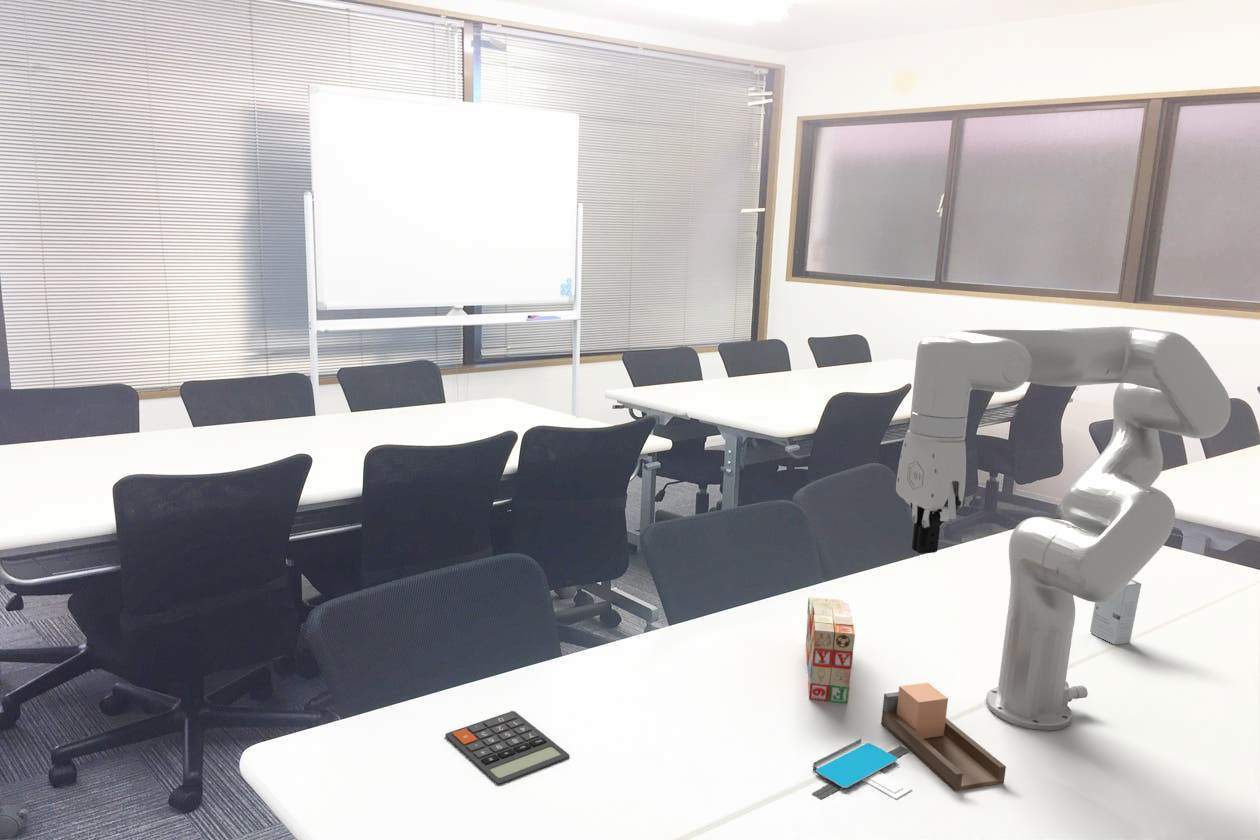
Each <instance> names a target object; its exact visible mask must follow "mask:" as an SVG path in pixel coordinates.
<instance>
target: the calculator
mask: <svg viewBox="0 0 1260 840" xmlns="http://www.w3.org/2000/svg"><path fill="white" fill-rule="evenodd" d="M444 735H445V738H446V739H447V740H448V741H449V742H450V743H451V744H453V746H454V747H456V748H457V749H458V750H459V752H461V753H462V754H463V755H464V756H465V755H466V758H468V760H469V761H470V762H472V763H473V764H474V765H475V766H476V767H477V768H478V769H479V770H481V772H483V774H485V776H487V778H489V779H490V780H491V781H492V780H493V781H492V782H493V783H494V784H496V785H497V786H501V785H504V784H506V783H509V782H512V781H514V780H517V779H519V778H521V777H524V776H527V775H531V774H532V773H535V772H537V771H540V770H542V769H545V768H547V767H551V766H553V765H555V764H558V763H561V762H563V761H566V760H569V759H570V754H569V753H568V752H567V751H566V750H564V749H563V748H562V747H560V745H558V744H557V743H556V742H555V741H553V740H551V738H549V737H548V736H546V734H544V733H543V732H542V731H540V730H539V729H538V728H537V727H536V726H535V725H533V724H532V723H530V722H529V721H528V720H526V719H525V718H523V716H521V715H520V714H519V713H517V712H516V711H514V710H512V711H508V712H505V713H502V714H498V715H496V716H493V717H491V718H487V719H484V720H482V721H479V722H475V723H473V724H469V725H466V726H463V727H460V728H457V729H455V730H453V731H452V730H451V731H449V732H447V733H445V734H444Z"/></svg>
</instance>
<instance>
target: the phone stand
mask: <svg viewBox="0 0 1260 840" xmlns="http://www.w3.org/2000/svg"><path fill="white" fill-rule="evenodd" d="M908 752H910V750H909V749H908V748H905V747H903V746H901V745H900V746H898V747H897V748H896V747H895V748H894V749H892V750H890V751H886V750H884V749H882V748H881V747H878V746H876V745H874V744H873V743H869V742H866V743H865V744H864V743H862V738H859V739H858V740H856V741H854V742H852V743H850V744H848V745H845V746H844V747H842V748H839V749H838V750H836V751H834V752H832V753H830V754H828V755H827V756H824V757H822V758H820V759H818V760H817V761H814V762H813V764H811V767H812V770H815V772H816V773H817V774H818V775H819V776H821V777H822V778H823V779H822V781H823V782H826V783H827V784H826V785H824V786H822V787H821V788H819V789H818V790H816V791H814V792H811V794H812V795H814V796H815V797H817V798H819V799H820V800H822V799H823V798H826V797H827V796H829V795H833V794H834V793H836V792H838V791H840V790H842V789H847V788H850V787H851V786H853V785H855V784H856V783H858V782H860V781H863V782H864V783H866V784H867V785H869V786H871V787H874V788H875V789H876V790H878V791H880V792H882V793H884V794H885V795H887V796H889V797H891V798H892V799H894V800H898V799H900V798H901V797H903V796H905V795H906V794H908V793H910V792H912V790H913V789H912V788H911V787H909V786H906V785H905V784H903V783H901V782H899V781H898V780H895V779H894V778H892V777H890V776H889V775H888V774H885V773H883V772H882V771H880V770H881V769H884V768H886V767H888V766H889V765H891V764H893V763H895V762H897V761H898V759H899V758H900V757H902V755H904V754H906V753H908Z"/></svg>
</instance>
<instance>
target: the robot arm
mask: <svg viewBox="0 0 1260 840" xmlns="http://www.w3.org/2000/svg"><path fill="white" fill-rule="evenodd" d="M1025 383H1030V384H1035V385H1040V386H1041V385H1042V386H1050V387H1063V388H1066V387H1078V386H1079V387H1081V386H1091V385H1092V386H1093V385H1107V384H1109V385H1110V384H1118V386H1116V389H1115V392H1114V394H1113V400H1112V401H1113V404H1112V406H1113V407H1112V408H1113V409H1112V410H1113V425H1112V434H1111V438H1110V440H1109V442H1108V444H1107V445H1106V446H1105V448H1104V450H1103V451H1102V452H1101V453H1100V454H1099V455H1098V456H1097V458H1096V459H1095V460H1093V461H1092V462H1091V464H1090V465H1089V466H1088V467H1087V468H1086V469H1085V470H1084V471H1083V472H1082V473H1081V474H1080V475H1079V476H1078V477H1077V478H1076V479H1075V480H1074V481H1073V483H1071V484H1070V486H1069V487H1068V488H1067V490H1066V491H1065V492H1064V494H1063V496H1062V498H1061V501H1060V511H1061V513H1062V515H1063V516H1064V518H1065V519H1066V520H1067V521H1068V522H1070V523H1071V524H1070V523H1067V522H1064V521H1061V520H1059V519H1055V518H1052V517H1047V516H1033V517H1029V518H1026V519H1024V520H1022V521H1021V522H1020V523H1018V524H1017V525H1016V527H1015V528H1013V531H1012V533H1011V536H1010V538H1009V542H1008V562H1009V572H1010V573H1009V574H1010V588H1009V589H1010V590H1009V600H1008V606H1007V607H1008V608H1007V617H1006V621H1005V623H1006V624H1005V630H1004V640H1003V647H1002V654H1001V655H1002V656H1001V663H1000V671H999V677H998V679H999V680H998V686H996V687H993V688H992V689H989V690H988V692H987V693H986V697H985V698H986V700H985V703H986V706H987V708H988V709H989V710H990V711H991V712H992V713H993V714H994V715H995V716H997V717H998V718H1000V719H1002V720H1004V721H1007V723H1011V724H1013V725H1015V726H1019V727H1023V728H1026V729H1031V730H1037V731H1057V730H1063V729H1064V728H1066V727H1069V725H1070V724H1072V723H1071V722H1072V720H1073V712H1072V710H1071V708H1070V706H1069V705H1068V704H1069V702H1071V701H1072V700H1077V699H1078V700H1079V699H1085V698H1087V697H1088V695H1089V693H1088V690H1087V687H1086V686H1084V685H1075V686H1071V687H1069V686H1070V685H1069V683H1068V682H1067V674H1068V666H1069V661H1070V653H1071V645H1072V639H1073V631H1074V626H1075V622H1076V621H1075V619H1076V604H1075V599H1074V598H1075V597H1077V598H1079V599H1082V600H1085V601H1087V602H1091V603H1095V602H1103V601H1107V600H1109V599H1111V598H1112V597H1114V596H1115V595H1117V594H1118V593H1119V592H1120V591H1121V590H1122V589H1123V588H1124V587H1125V586H1126V585H1127V584H1128V583H1129V582H1130V581H1131V580H1134V578H1135V577H1136V575H1137V574H1138V573H1139V572H1140V571H1142V569H1143V568H1144V567H1145V566H1146V565H1147V564H1148V563H1149V562H1150V561H1151V559H1152V558H1153V557H1154V556H1155V555H1156V554H1157V553H1158V552H1159V551H1160V550H1161V548H1163V546H1164V545H1165V544H1166V542H1167V540H1168V539H1169V537H1170V535H1171V533H1172V531H1173V529H1174V525H1175V519H1176V509H1175V505H1174V503H1173V501H1172V499H1171V498H1170V497H1169V496H1168V495H1167V494H1166V493H1165V492H1163V491H1162V490H1160V489H1158V488H1156V487H1154V486H1152V485H1153V484H1154V483H1155V481H1157V480H1158V478H1159V477H1160V475H1161V474H1162V470H1163V466H1164V456H1163V451H1162V447H1161V442H1160V434H1159V433H1160V432H1164V433H1165V432H1166V433H1169V434H1173V435H1178V436H1183V437H1187V438H1191V439H1199V440H1200V439H1208V438H1212V437H1214V436H1216V435H1219V433H1220V432H1222V431H1223V430H1224V428H1226V426H1227V424H1228V422H1229V420H1230V417H1231V412H1232V411H1231V410H1232V407H1231V406H1232V405H1231V400H1230V399H1231V398H1230V396H1229V393H1228V392H1227V390H1226V387H1225V386H1224V384H1223V383H1222V382H1221V380H1220V378H1218V376H1217V374H1216V373H1215V372H1214V370H1213V369H1212V367H1211V365H1210V364H1209V363H1208V361H1207V360H1206V358H1205V357H1204V356H1203V354H1201V352H1200V351H1199V350H1198V348H1196V346H1195V345H1194V344H1193V343H1192V342H1191V341H1190V340H1189V339H1187V337H1185V336H1183V335H1182V334H1179V333H1177V332H1173V331H1167V330H1159V329H1158V330H1157V329H1150V328H1143V327H1136V326H1135V327H1134V326H1123V325H1122V326H1101V327H1100V326H1099V327H1084V328H1083V327H1082V328H1081V327H1079V328H1075V327H1074V328H1034V329H1033V328H1032V329H1028V328H1027V329H1007V328H1006V329H1001V328H1000V329H972V330H971V329H970V330H967V329H966V330H965V329H964V330H957V331H954V332H950V333H948V334H946V335H945V336H927V337H924V338H922V339H921V340H920V341H919V343H918V345H917V350H916V358H915V369H914V379H913V386H912V388H913V389H912V398H911V399H912V400H911V401H912V402H911V409H910V410H911V411H910V415H909V416H910V417H909V418H910V419H909V427H908V429H907V431H906V433H905V436H904V439H903V443H902V446H901V450H900V451H901V452H900V455H899V461H898V468H897V474H896V475H897V476H896V483H895V484H896V485H895V491H896V493H897V495H898V496H899V497H900V498H901V499H903V500H904V502H905V503H906V504H907V505H909V506H910V509H911V511H912V512H911V519H912V522H913V523H914V524H913V534H912V542H911V550H912V551H914V552H916V553H918V554H921V555H922V554H936V553H937V552H938V549H939V542H940V541H939V539H940V532H941V531H940V530H941V529H940V528H941V527H943V526H944V524H945V523H944V522H955V521H956V519H957V510H960V509H961V508H962V506H963V504H964V503H963V501H964V497H965V491H966V490H965V489H966V479H967V478H966V475H967V447H966V441H965V439H966V432H967V426H968V425H967V424H968V415H969V404H970V397H971V391H973V390H979V391H984V392H985V391H986V392H991V393H992V392H993V393H1008V392H1012V391H1014V390H1016V389H1019V388H1020V387H1022V386H1023V385H1024V384H1025ZM1159 431H1160V432H1159ZM1074 596H1075V597H1074Z"/></svg>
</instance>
